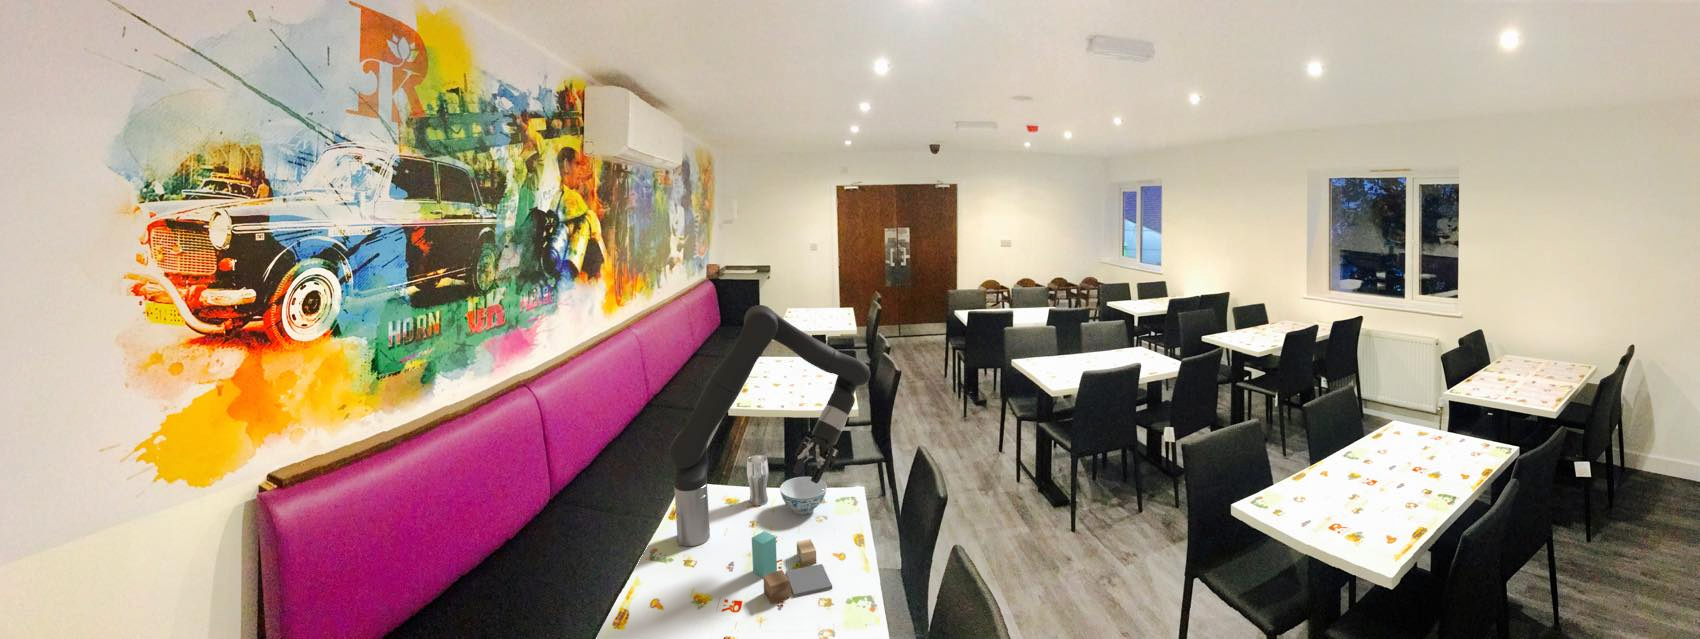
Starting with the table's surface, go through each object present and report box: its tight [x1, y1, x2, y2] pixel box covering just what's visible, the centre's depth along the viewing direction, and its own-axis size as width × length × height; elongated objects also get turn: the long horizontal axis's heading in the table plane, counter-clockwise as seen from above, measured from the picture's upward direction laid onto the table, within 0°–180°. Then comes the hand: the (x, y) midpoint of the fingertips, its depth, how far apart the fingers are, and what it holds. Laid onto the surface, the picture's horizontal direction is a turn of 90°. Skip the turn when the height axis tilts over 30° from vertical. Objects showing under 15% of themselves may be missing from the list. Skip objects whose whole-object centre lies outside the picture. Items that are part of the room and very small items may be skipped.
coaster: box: [785, 563, 833, 598], centre depth 155 cm, size 10×10×1 cm
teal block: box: [751, 530, 778, 579], centre depth 158 cm, size 4×4×10 cm
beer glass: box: [746, 454, 769, 507], centre depth 196 cm, size 7×7×15 cm
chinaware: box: [779, 476, 828, 515], centre depth 191 cm, size 15×15×8 cm
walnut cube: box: [762, 569, 791, 605], centre depth 149 cm, size 5×5×5 cm
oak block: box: [796, 538, 817, 567], centre depth 164 cm, size 6×4×4 cm, turn 19°
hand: (804, 477), depth 164 cm, fingers open, 8 cm apart
